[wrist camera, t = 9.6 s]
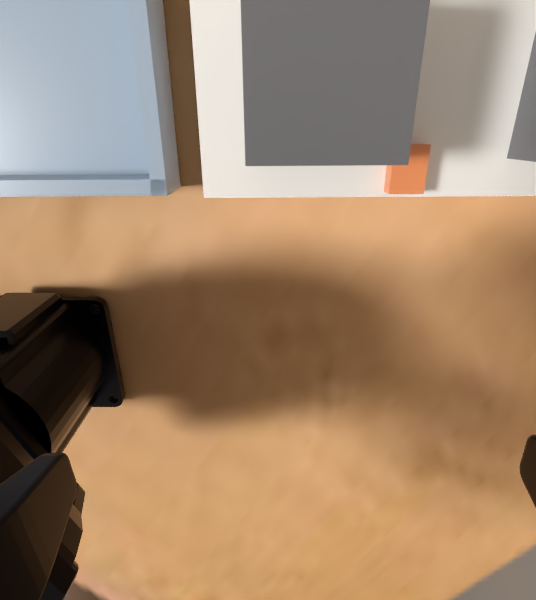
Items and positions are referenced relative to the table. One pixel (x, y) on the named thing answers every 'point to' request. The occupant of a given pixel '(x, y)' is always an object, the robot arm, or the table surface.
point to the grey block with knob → (331, 80)
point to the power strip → (428, 115)
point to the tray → (85, 99)
